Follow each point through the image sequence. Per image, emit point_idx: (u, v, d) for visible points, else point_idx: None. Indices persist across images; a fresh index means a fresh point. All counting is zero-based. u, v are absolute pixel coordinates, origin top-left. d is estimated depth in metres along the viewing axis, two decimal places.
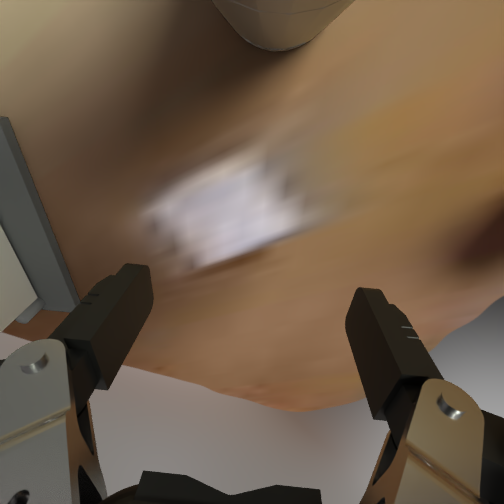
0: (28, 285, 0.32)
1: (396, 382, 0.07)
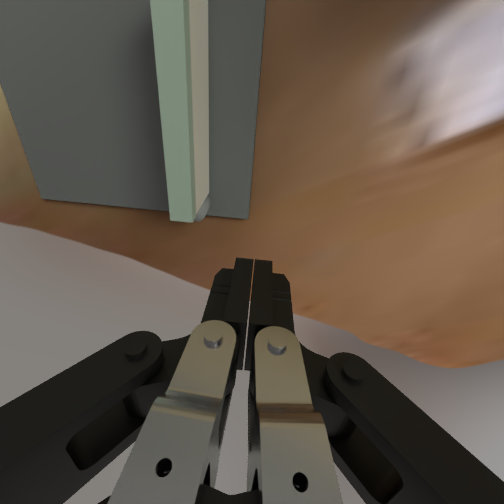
0: (208, 169, 0.26)
1: (248, 331, 0.08)
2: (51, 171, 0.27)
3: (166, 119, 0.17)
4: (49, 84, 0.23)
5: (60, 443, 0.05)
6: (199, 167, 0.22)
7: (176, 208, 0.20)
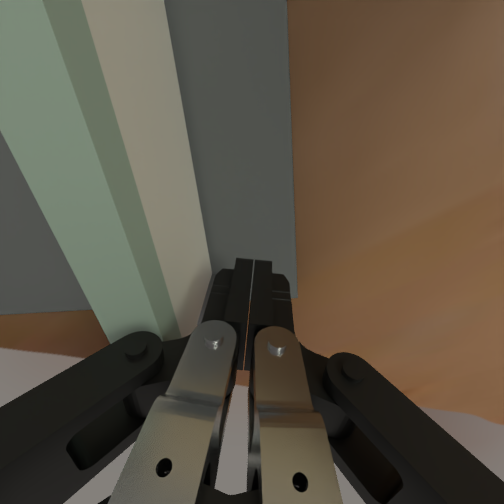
0: (204, 240, 0.14)
1: (248, 331, 0.08)
2: None
3: (53, 204, 0.06)
4: None
5: (60, 443, 0.05)
6: (182, 261, 0.11)
7: None
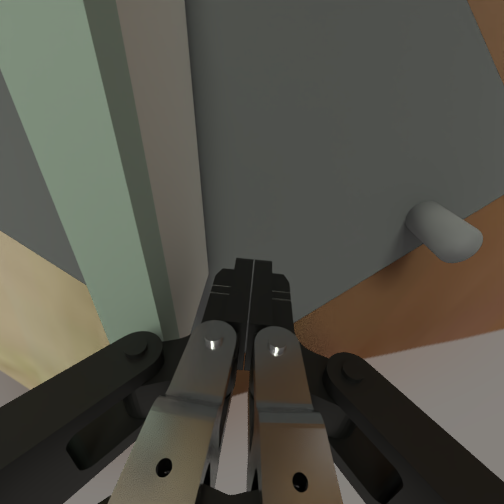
0: (204, 241, 0.14)
1: (248, 331, 0.08)
2: None
3: (68, 198, 0.06)
4: None
5: (60, 443, 0.05)
6: (184, 261, 0.11)
7: None
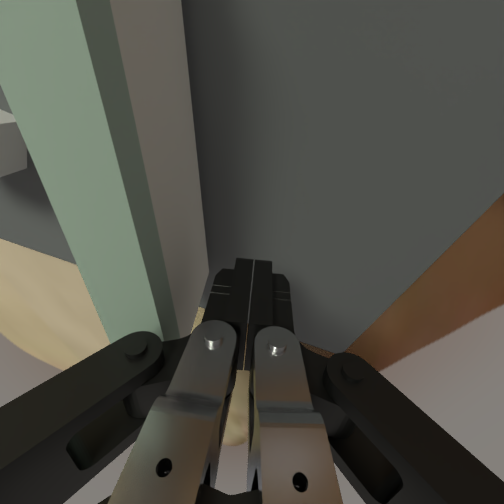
0: (204, 239, 0.14)
1: (248, 331, 0.08)
2: (318, 324, 0.18)
3: (65, 199, 0.06)
4: (226, 258, 0.16)
5: (60, 443, 0.05)
6: (183, 260, 0.11)
7: None
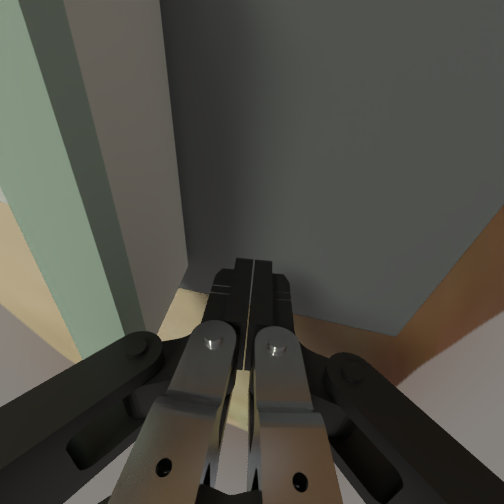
0: (182, 232, 0.14)
1: (248, 331, 0.08)
2: (367, 305, 0.17)
3: (11, 176, 0.06)
4: (260, 246, 0.15)
5: (60, 443, 0.05)
6: (153, 250, 0.10)
7: None
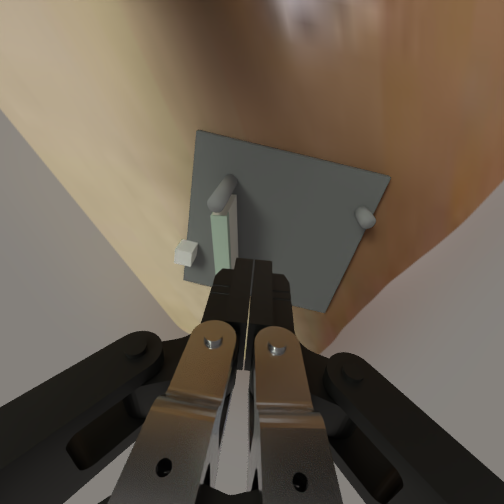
0: None
1: (248, 331, 0.08)
2: (310, 299, 0.42)
3: (218, 271, 0.32)
4: None
5: (60, 443, 0.05)
6: None
7: None
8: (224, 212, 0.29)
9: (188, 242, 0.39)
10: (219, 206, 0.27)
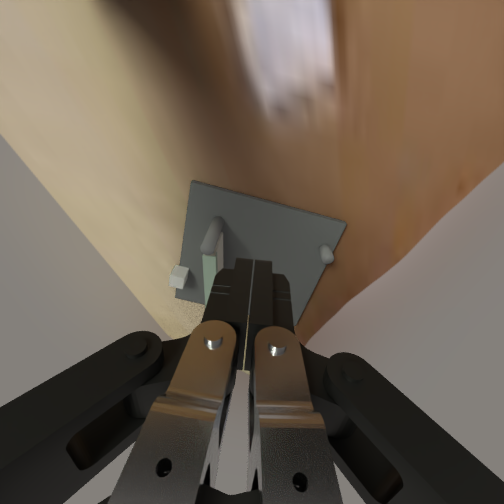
0: None
1: (248, 331, 0.08)
2: None
3: (207, 297, 0.39)
4: None
5: (60, 443, 0.05)
6: None
7: None
8: None
9: (180, 267, 0.45)
10: (210, 250, 0.34)
